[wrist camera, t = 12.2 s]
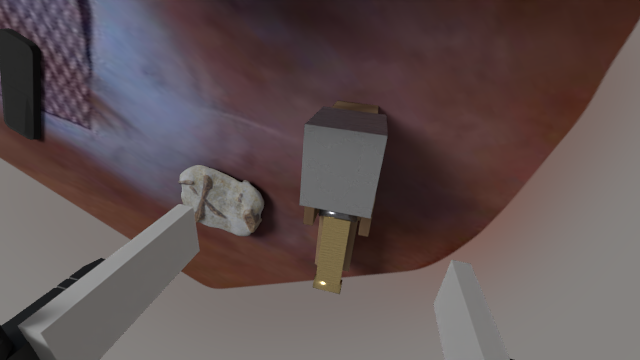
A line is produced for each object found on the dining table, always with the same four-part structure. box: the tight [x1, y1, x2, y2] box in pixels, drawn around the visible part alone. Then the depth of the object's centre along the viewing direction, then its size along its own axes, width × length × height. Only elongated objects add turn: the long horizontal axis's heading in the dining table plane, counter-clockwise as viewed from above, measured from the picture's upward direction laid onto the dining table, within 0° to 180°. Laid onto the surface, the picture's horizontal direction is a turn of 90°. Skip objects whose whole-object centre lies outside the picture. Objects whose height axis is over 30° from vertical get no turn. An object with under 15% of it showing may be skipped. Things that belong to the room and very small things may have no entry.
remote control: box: [0, 28, 41, 140], centre depth 37 cm, size 5×2×15 cm
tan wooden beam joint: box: [303, 101, 378, 271], centre depth 30 cm, size 7×20×7 cm, turn 174°
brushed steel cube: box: [300, 106, 388, 218], centre depth 24 cm, size 6×7×7 cm
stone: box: [178, 165, 264, 236], centre depth 37 cm, size 12×9×3 cm
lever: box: [313, 209, 357, 294], centre depth 30 cm, size 4×2×11 cm
